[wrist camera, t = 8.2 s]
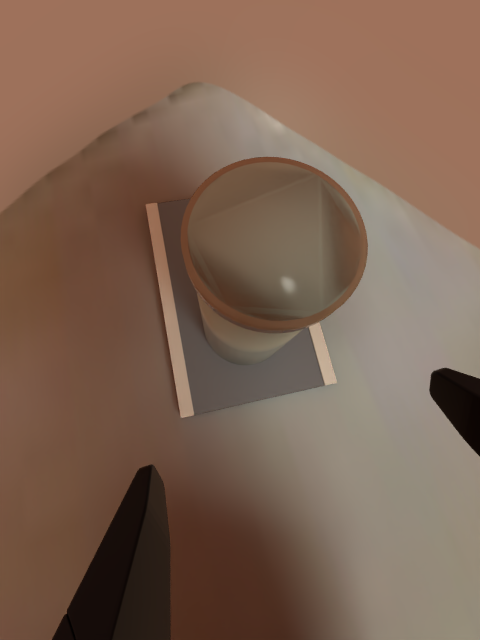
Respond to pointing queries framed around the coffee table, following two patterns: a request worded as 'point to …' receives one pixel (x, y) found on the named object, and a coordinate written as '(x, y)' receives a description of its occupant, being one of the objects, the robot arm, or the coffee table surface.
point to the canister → (269, 254)
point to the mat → (197, 355)
